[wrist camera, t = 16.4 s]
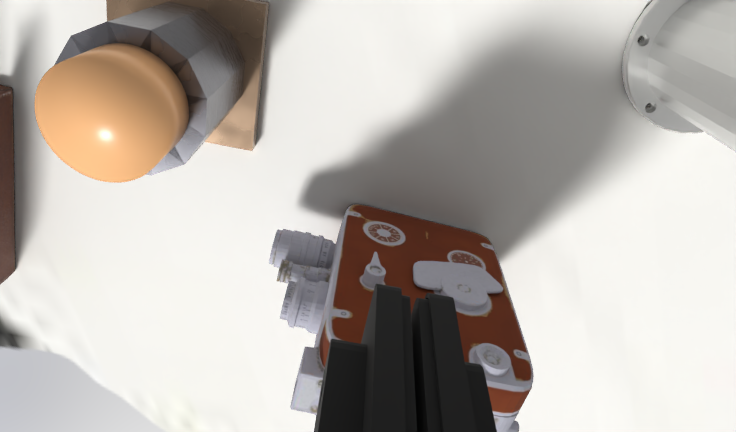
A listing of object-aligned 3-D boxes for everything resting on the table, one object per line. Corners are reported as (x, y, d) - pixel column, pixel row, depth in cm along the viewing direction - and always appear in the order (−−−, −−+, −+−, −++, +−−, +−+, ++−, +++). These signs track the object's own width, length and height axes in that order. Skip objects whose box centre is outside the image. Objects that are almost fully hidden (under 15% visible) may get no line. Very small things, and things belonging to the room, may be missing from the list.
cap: (205, 46, 35) (166, 72, 29) (201, 150, 39) (165, 192, 33) (92, 23, 35) (27, 44, 29) (97, 130, 38) (41, 169, 32)
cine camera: (293, 171, 48) (236, 311, 31) (498, 223, 50) (556, 384, 32) (275, 255, 53) (217, 420, 35) (465, 299, 54) (500, 479, 37)
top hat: (269, 2, 42) (231, 25, 32) (255, 145, 47) (219, 203, 37) (112, -30, 41) (24, -17, 31) (117, 119, 47) (43, 170, 37)
